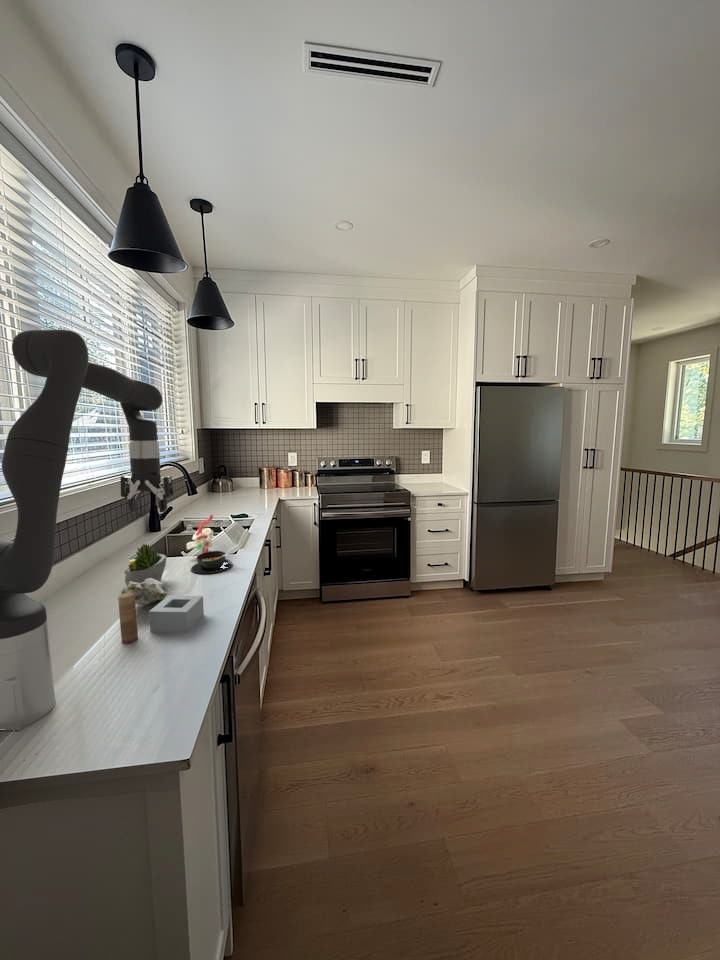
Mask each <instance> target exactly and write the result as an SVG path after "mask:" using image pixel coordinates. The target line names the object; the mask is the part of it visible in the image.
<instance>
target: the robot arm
mask: <svg viewBox="0 0 720 960" xmlns="http://www.w3.org/2000/svg"><path fill="white" fill-rule="evenodd" d="M11 343H12V344H11V351H12V355H13V359H14V360H15V361H16V363H17V364H18V366H19V367H20V368H22V370H24V371H25V372H27V373H29V374H31V375H33V376H35V377H36V376H37V377H41V378H45V379H46V380H45V383H44V386H43V388H42V390H41V392H40V394H39V395H38V396H37V398H36V399H35V400H34V402H33V403H32V404H31V405H29V407H28V408H26V410H25V411H24V412H23V413H22V414H21V415H20V416H19V417H18V419H16V421H14V424H13V425H12V426H11V428H10V429H9V431H8V434H7V437H6V441H5V446H4V449H3V450H4V451H3V455H2V460H1V461H2V462H1V471H2V475H3V477H4V480H5V483H6V485H7V487H8V489H9V491H10V493H11V495H12V498H13V499H14V502H15V505H16V510H17V525H16V530H15V535H14V540H0V729H5V730H17V731H16V732H19V730H20V731H21V730H22V729H24V728H25V727H27V726H29V725H31V724H33V723H35V722H37V721H39V720H41V719H43V718H44V717H45V716H46V715H48V714H49V713H50V712H51V711H52V710H53V709H54V707H55V706H56V694H55V683H54V674H53V664H52V655H51V647H50V637H49V627H48V619H47V618H48V615H47V610H46V609H47V608H46V606H45V605H44V604H43V603H42V602H40V601H38V600H35V599H33V598H32V597H30V596H28V595H27V594H31V593H35V592H36V591H38V590H40V589H41V588H42V587H43V586H44V585H45V584H46V583H47V581H48V579H49V577H50V575H51V574H52V573H51V572H52V570H53V569H52V568H53V564H54V559H55V549H56V548H55V547H56V528H57V514H58V507H59V502H60V501H59V500H60V495H61V494H60V493H61V487H62V481H63V475H64V472H65V468H66V461H67V457H68V451H69V445H70V437H71V432H72V428H73V427H72V426H73V421H74V417H75V412H76V408H77V404H78V403H79V402H78V401H79V398H80V395H81V392H82V388H83V389H86V390H88V391H91V392H94V393H96V394H98V395H99V394H100V395H101V396H104V397H106V398H108V399H110V400H113V401H116V402H118V403H120V406H121V409H122V411H123V415H124V417H125V420H126V423H127V426H128V434H129V436H128V437H129V447H128V448H129V451H128V452H129V453H128V454H129V462H130V463H129V465H130V473H131V476H129V475H124V476H121V477H120V497H121V498H125V499H127V500H128V509H129V511H130V512H131V513H134V512H135V513H136V512H137V511H138V499H137V498H136V497H137V496H138V495H139V494H140V493H141V492H143V493H144V492H152V493H153V494H154V495H156V496H157V497H158V499H159V500H158V506H159V507H158V508H159V513H165V512H166V511H167V510H168V498H171V497H173V496H174V494H175V493H174V487H173V485H174V484H173V478H172V476H170V475H168V476H162V475H161V459H160V446H159V442H158V428H157V423H156V421H154V420H151V419H148V418H145V417H143V415H142V414H141V412H143V411H145V412H152V411H157V410H158V409H159V408H160V407H161V406H162V403H163V396H162V393H161V392H160V390H159V389H158V388H157V387H156V386H154V385H152V384H150V383H148V382H144V381H140V380H137V379H135V378H134V379H133V378H131V377H129V376H128V375H125V374H124V373H122V372H120V371H118V370H116V369H113V368H112V367H108V366H106V365H102V364H97V363H93V362H90V361H89V359H90V357H89V349H88V346H87V343H86V342H85V340H84V338H83V337H82V336H81V334H79V333H77V332H76V331H72V330H67V329H29V330H28V329H27V330H24V331H21V332H19V333H17V334H16V335H15V336H14V337H13V340H12V342H11ZM161 482H162V483H161ZM131 483H132V487H131ZM161 484H163V487H162V485H161Z"/></svg>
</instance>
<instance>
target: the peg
mask: <svg viewBox="0 0 720 960" xmlns="http://www.w3.org/2000/svg"><path fill="white" fill-rule="evenodd" d="M117 599H118V614H119V625H120V636H121V637H120V638H121V644H123V645H127V644H132V643H135V642H137V641H138V640H139V634H138V620H137V604H136V603H135V594H134V593H126V594H122V595H121V594H120V595H119V596H118V597H117Z"/></svg>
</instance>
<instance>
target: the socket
mask: <svg viewBox="0 0 720 960" xmlns="http://www.w3.org/2000/svg"><path fill="white" fill-rule="evenodd" d="M204 608H205V607H204V596H203V595H167V596H166V597H164V599H161V601H160V602H159V603H157V604H156V605H154V607H153V608H151V609H150V610H149V611H148V615H149V616H148V617H149V618H148V619H149V630H150V632H149V633H172V634H173V633H177V634H179V633H182V634H183V633H184V634H185V633H187V634H188V633H189V632H190V631H191V630H192V629H193V628H194V627H195V625H196V624H197V623H198V622H199V621H200V620H201V619H202V618H203V617H204V616H205V613H204V612H205V611H204V610H205V609H204Z"/></svg>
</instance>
